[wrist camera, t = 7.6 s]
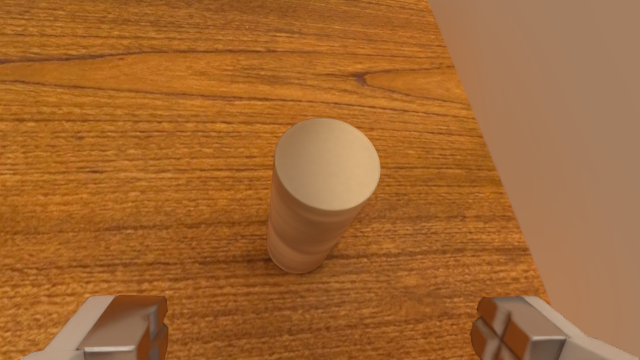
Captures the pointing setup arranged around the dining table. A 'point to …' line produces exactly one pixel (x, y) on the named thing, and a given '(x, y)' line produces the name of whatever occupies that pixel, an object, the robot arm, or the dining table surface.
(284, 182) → the dowel
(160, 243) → the dining table surface
